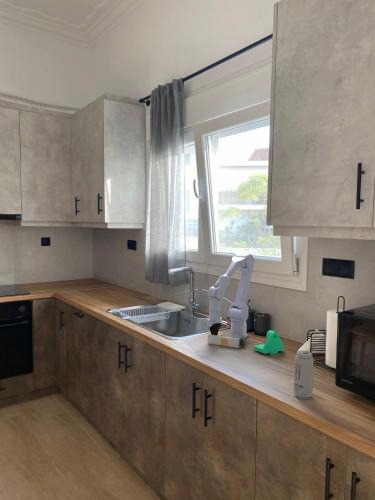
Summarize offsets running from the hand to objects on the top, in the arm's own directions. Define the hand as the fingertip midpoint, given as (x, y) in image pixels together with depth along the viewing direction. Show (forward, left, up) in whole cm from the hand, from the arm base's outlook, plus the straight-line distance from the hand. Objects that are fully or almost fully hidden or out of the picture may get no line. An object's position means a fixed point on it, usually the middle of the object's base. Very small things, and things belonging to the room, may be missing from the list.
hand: (214, 338), depth 191 cm
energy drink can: (+40, +51, -3) cm, 65 cm away
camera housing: (-2, +9, -2) cm, 9 cm away
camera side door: (+2, +6, -2) cm, 6 cm away
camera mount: (-1, +27, -3) cm, 27 cm away
